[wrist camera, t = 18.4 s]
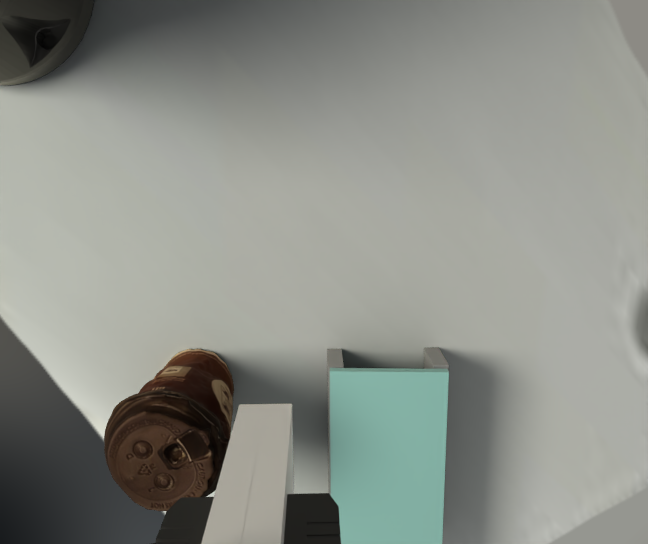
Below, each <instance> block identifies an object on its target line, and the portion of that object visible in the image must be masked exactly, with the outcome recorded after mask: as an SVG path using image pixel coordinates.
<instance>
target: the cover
mask: <svg viewBox="0 0 648 544" xmlns="http://www.w3.org/2000/svg"><path fill="white" fill-rule="evenodd" d="M448 381H449V371H448V369H409V368H330V460H331V497H332V498H333V499H334V501H335V502H336V504H337V505H338V506H339V520H340V537H341V544H442V535H443V509H444V483H445V458H446V432H447V406H448Z"/></svg>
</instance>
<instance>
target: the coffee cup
mask: <svg viewBox="0 0 648 544" xmlns="http://www.w3.org/2000/svg"><path fill="white" fill-rule="evenodd" d="M233 393H234V385H233V379H232V375H231V373H230V371H229V369H228V367H227V365H226V363H225V362H223V361H222V360H221V359H220V358H219V357H218V356H217V354H215V353H214V352H210V351H204V350H201V349H194V350H192V349H187V350H185V351H181V352H179V353H178V354H176V355H175V356H174V357H173V358H172V359H171V360H170V361H169V362H168V363H167V365H166V366H165V367H164V369H162V370H161V371H159V373H157V375H156V376H155V378H154V379H153V380H151V381H149V382H148V383H146V384H145V385H144V386H143V388H142V389H141V390H140V392H139V393H138V394H135V395H132V396H130V397H128V398H126V399H125V400H123V401H121V402H120V403H119V404H118V405H117V406H116V407H115V408H114V410H113V412H112V415H111V417H110V418H109V421H108V423H107V426H106V430H105V436H104V442H105V449H104V450H105V457H106V461H107V465H108V467H109V470H110V472H111V475H112V477H113V479H114V480H115V482H116V483H117V484H118V485H119V486H120V487H121V489H122V490H123V491H124V492H125V493H126V494H127V495H128V496H129V497H130V498H131V499H132V500H133V501H134V502H135V503H137V504H139V505H140V506H142V507H145V508H146V509H149V510H158V511H168V510H169V509H170V508H171V507H172V506H173V505H174V504H175V503H176V502H177V501H178V500H179V499H180V498H185V497H206V496H208V495H209V494H211V493H212V492H214V491H215V490H216V488H217V484H218V481H219V477H220V473H221V470H222V466H223V462H224V459H225V455H226V451H227V448H228V444H229V440H230V432H231V421H232V413H233Z"/></svg>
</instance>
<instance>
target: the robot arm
mask: <svg viewBox="0 0 648 544" xmlns="http://www.w3.org/2000/svg"><path fill="white" fill-rule="evenodd" d="M93 2H94V0H0V85H16V84H21V83H26V82H29V81H33V80H35V79H38V78H40V77H42V76H44V75H46V74H48V73H49V72H51V71H53V70H54V69H55V68H57V67H58V66H59V65H61V64H62V63H63V62H64V61H65V60H66V59H67V58H68V57H69V56H70V55H71V54H72V52H73V51H74V50H75V48H76V47H77V46H78V44H79V42H80V41H81V39H82V37H83V35H84V33H85V31H86V29H87V26H88V23H89V20H90V17H91V13H92V9H93ZM153 544H341V537H340V520H339V506H338V505H337V504H336V502H335V501H334V499H333V498H332V497H331V495H330V494H329V493H321V494H294V464H293V422H292V404H239V407H238V411H237V415H236V418H235V422H234V426H233V429H232V433H231V437H230V440H229V444H228V448H227V451H226V455H225V459H224V462H223V466H222V470H221V473H220V477H219V481H218V484H217V488H216V491H215V495H214V497H185V498H180V499H179V500H178V501H177V502H176V503H175V504H174V505H173V506H172V507H171V508H170V509H169V510H168V511H167V512H166V515H165V517H164V520H163V522H162V525H161V530H159V533H158V535H157V538H156V543H153Z"/></svg>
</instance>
